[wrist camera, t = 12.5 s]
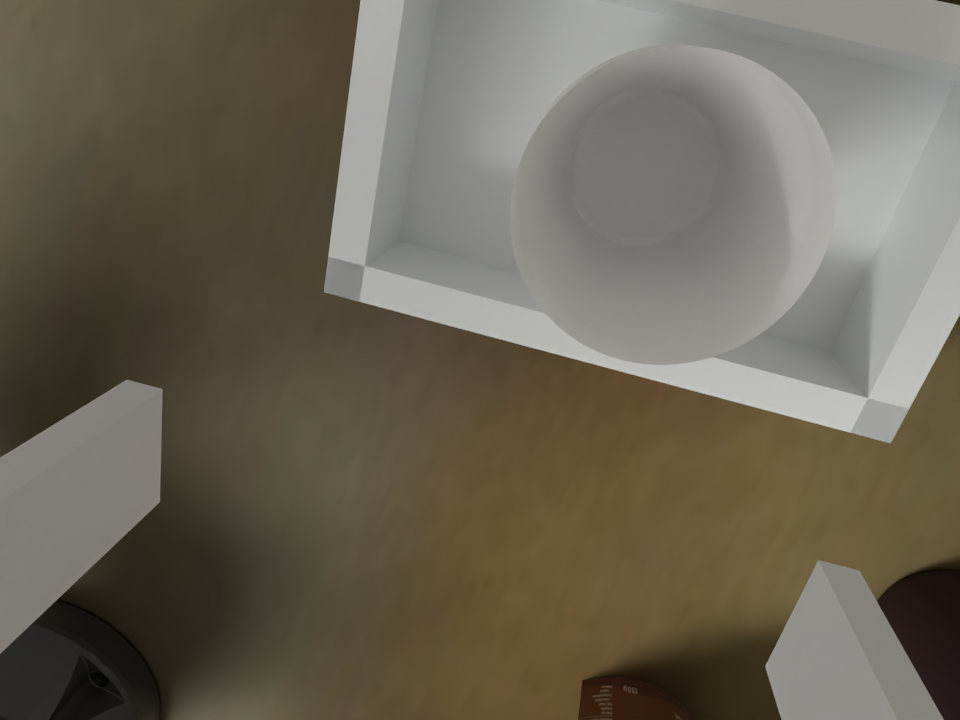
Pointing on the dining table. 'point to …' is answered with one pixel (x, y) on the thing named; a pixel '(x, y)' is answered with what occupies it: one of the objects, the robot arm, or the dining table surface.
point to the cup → (672, 204)
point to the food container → (627, 701)
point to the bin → (599, 37)
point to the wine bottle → (930, 632)
